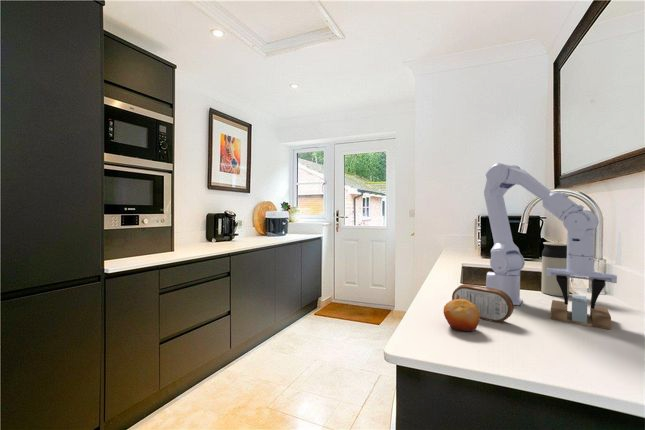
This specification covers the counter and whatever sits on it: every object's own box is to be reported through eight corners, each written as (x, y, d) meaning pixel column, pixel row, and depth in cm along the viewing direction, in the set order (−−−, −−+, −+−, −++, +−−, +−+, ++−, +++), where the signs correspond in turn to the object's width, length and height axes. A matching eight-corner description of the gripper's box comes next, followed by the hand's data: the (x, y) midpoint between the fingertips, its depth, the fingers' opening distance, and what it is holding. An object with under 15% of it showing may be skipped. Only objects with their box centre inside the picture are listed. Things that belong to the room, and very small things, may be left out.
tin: (513, 323, 82) (514, 290, 82) (510, 326, 79) (511, 292, 79) (454, 310, 92) (454, 281, 92) (450, 312, 90) (450, 283, 90)
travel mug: (560, 297, 107) (561, 244, 106) (536, 292, 114) (537, 242, 114) (574, 295, 110) (575, 243, 110) (550, 290, 117) (551, 241, 117)
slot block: (550, 318, 85) (550, 307, 85) (552, 310, 93) (552, 299, 93) (610, 329, 78) (611, 317, 78) (606, 318, 86) (607, 307, 86)
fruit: (475, 317, 82) (478, 294, 78) (479, 343, 75) (482, 320, 71) (442, 313, 84) (443, 291, 80) (443, 338, 78) (444, 315, 74)
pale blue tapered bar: (572, 320, 82) (572, 301, 82) (571, 312, 90) (572, 294, 89) (587, 323, 81) (587, 303, 81) (585, 314, 88) (585, 296, 88)
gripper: (546, 254, 86) (545, 303, 87) (618, 259, 78) (617, 314, 78) (547, 251, 92) (546, 298, 92) (615, 256, 83) (614, 308, 83)
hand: (579, 305), depth 85 cm, fingers open, 5 cm apart
